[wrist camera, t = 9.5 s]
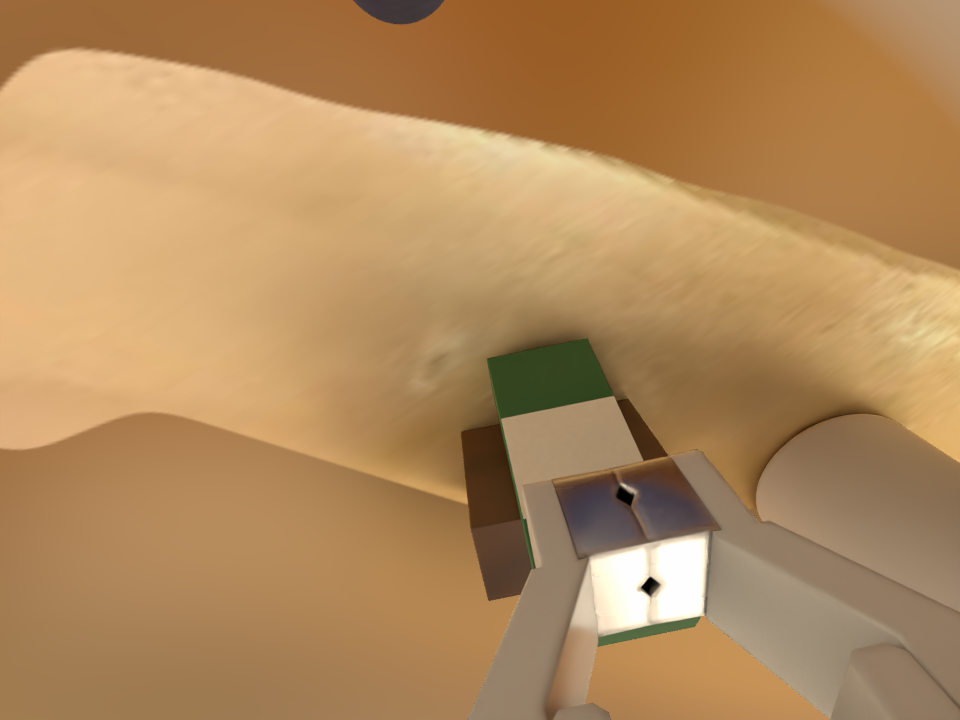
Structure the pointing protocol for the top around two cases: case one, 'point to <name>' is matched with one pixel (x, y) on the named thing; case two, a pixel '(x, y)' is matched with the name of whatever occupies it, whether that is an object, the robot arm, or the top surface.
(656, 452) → the block
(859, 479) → the cylinder vase
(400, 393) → the top surface
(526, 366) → the block
